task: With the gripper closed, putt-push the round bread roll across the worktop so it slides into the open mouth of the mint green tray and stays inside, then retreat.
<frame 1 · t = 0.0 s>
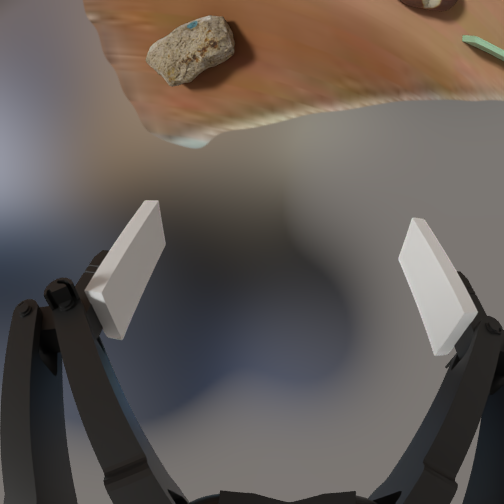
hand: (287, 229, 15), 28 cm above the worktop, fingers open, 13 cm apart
rock: (196, 48, 33), on the worktop
mint green tray: (500, 14, 21), on the worktop
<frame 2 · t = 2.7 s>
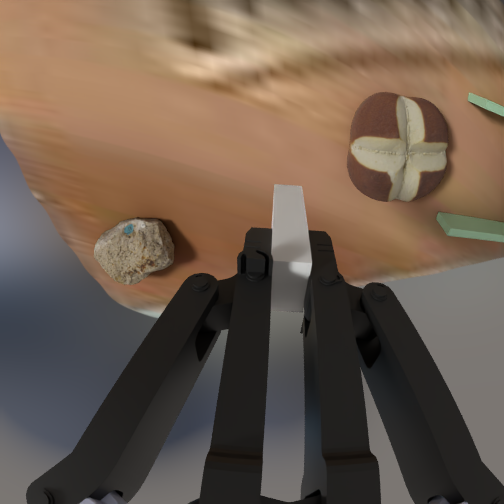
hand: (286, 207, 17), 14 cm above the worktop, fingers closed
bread: (395, 144, 28), on the worktop
rock: (139, 240, 38), on the worktop
mint green tray: (498, 170, 27), on the worktop
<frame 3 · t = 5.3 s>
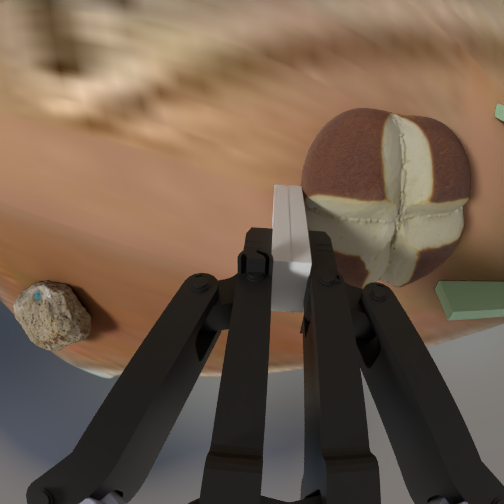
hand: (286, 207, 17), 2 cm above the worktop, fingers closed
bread: (382, 191, 18), on the worktop, touching gripper
rock: (58, 302, 28), on the worktop
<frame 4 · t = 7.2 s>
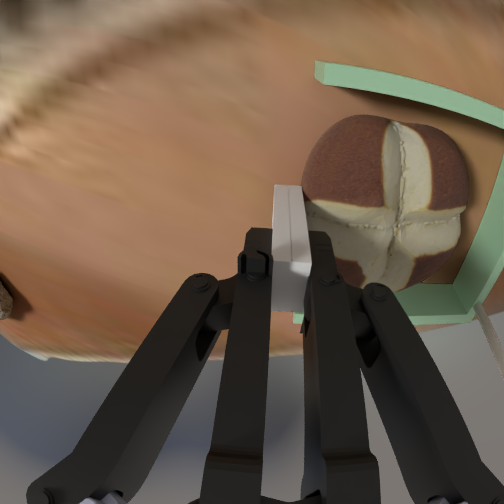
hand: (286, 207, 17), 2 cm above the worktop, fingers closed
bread: (381, 197, 18), on the worktop, touching gripper
mint green tray: (414, 203, 18), on the worktop
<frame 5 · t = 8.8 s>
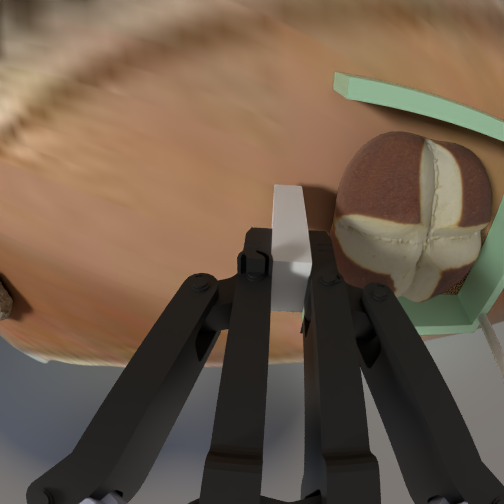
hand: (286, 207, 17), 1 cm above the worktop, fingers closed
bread: (407, 211, 18), on the worktop
mint green tray: (425, 216, 18), on the worktop
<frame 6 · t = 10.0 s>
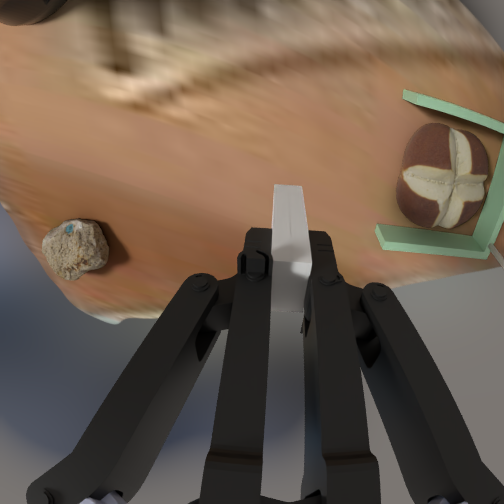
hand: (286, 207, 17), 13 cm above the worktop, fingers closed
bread: (439, 172, 28), on the worktop
rock: (81, 240, 38), on the worktop
mint green tray: (449, 176, 27), on the worktop
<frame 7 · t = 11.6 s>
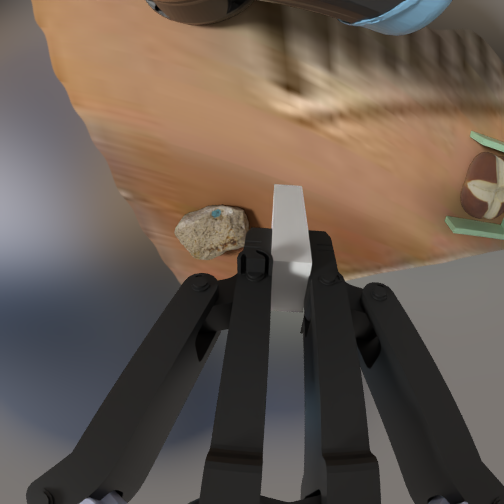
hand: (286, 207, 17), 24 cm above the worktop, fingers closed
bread: (484, 182, 38), on the worktop
rock: (216, 223, 48), on the worktop
mint green tray: (490, 185, 38), on the worktop
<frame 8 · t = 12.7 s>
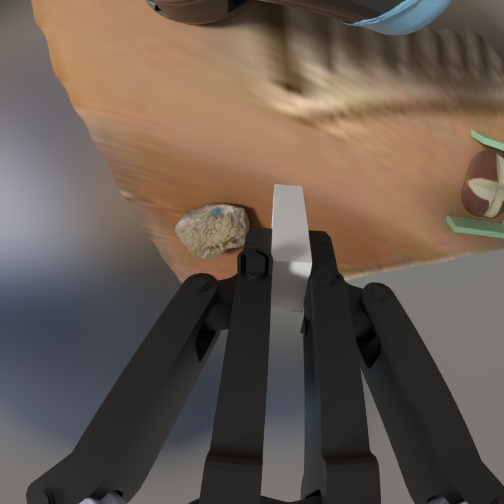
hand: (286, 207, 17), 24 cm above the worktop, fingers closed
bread: (485, 180, 38), on the worktop
rock: (217, 222, 48), on the worktop
mint green tray: (491, 184, 38), on the worktop
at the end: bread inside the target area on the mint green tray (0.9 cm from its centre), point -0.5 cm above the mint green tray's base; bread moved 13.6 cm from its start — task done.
